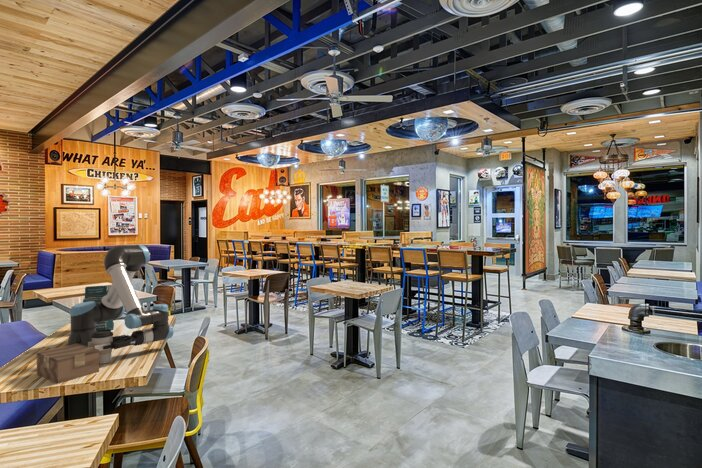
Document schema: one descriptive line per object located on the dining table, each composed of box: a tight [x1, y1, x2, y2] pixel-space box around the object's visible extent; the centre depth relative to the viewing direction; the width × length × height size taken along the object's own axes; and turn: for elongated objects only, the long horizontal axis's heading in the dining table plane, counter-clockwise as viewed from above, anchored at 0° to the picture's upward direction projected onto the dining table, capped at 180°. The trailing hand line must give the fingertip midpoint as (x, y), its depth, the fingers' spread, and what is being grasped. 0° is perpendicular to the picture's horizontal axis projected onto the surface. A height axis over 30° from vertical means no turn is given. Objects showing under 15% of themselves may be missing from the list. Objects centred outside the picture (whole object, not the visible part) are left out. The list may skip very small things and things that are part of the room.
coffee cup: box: [91, 329, 114, 365], centre depth 184 cm, size 9×9×15 cm
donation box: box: [82, 284, 115, 331], centre depth 246 cm, size 16×16×28 cm
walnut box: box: [36, 344, 100, 384], centre depth 171 cm, size 20×16×10 cm
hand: (91, 347), depth 181 cm, fingers closed on coffee cup, 8 cm apart
